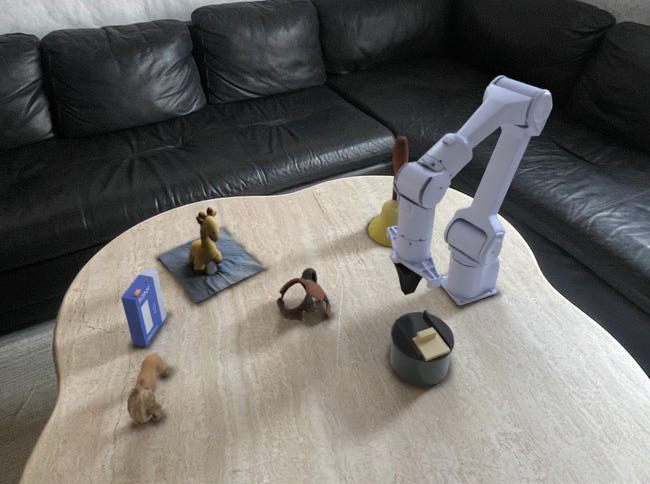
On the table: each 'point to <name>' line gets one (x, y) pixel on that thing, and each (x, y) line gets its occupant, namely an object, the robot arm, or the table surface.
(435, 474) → the table surface
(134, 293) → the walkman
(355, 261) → the table surface
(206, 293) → the stuffed giraffe
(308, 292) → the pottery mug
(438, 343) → the slider
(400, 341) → the canister
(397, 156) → the handbell
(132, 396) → the lion figurine
